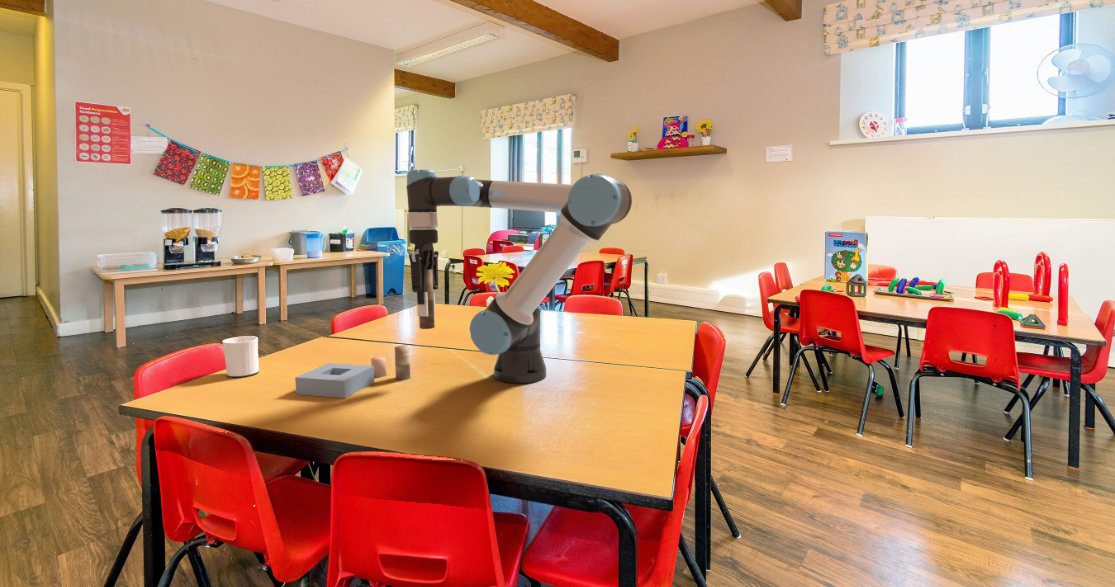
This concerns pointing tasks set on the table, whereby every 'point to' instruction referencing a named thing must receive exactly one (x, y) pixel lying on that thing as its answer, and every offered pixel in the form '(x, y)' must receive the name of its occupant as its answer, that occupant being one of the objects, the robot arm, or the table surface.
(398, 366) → the pin medium
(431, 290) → the pin long
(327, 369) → the socket
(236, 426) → the table surface
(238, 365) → the mug
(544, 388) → the table surface
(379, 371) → the pin short
